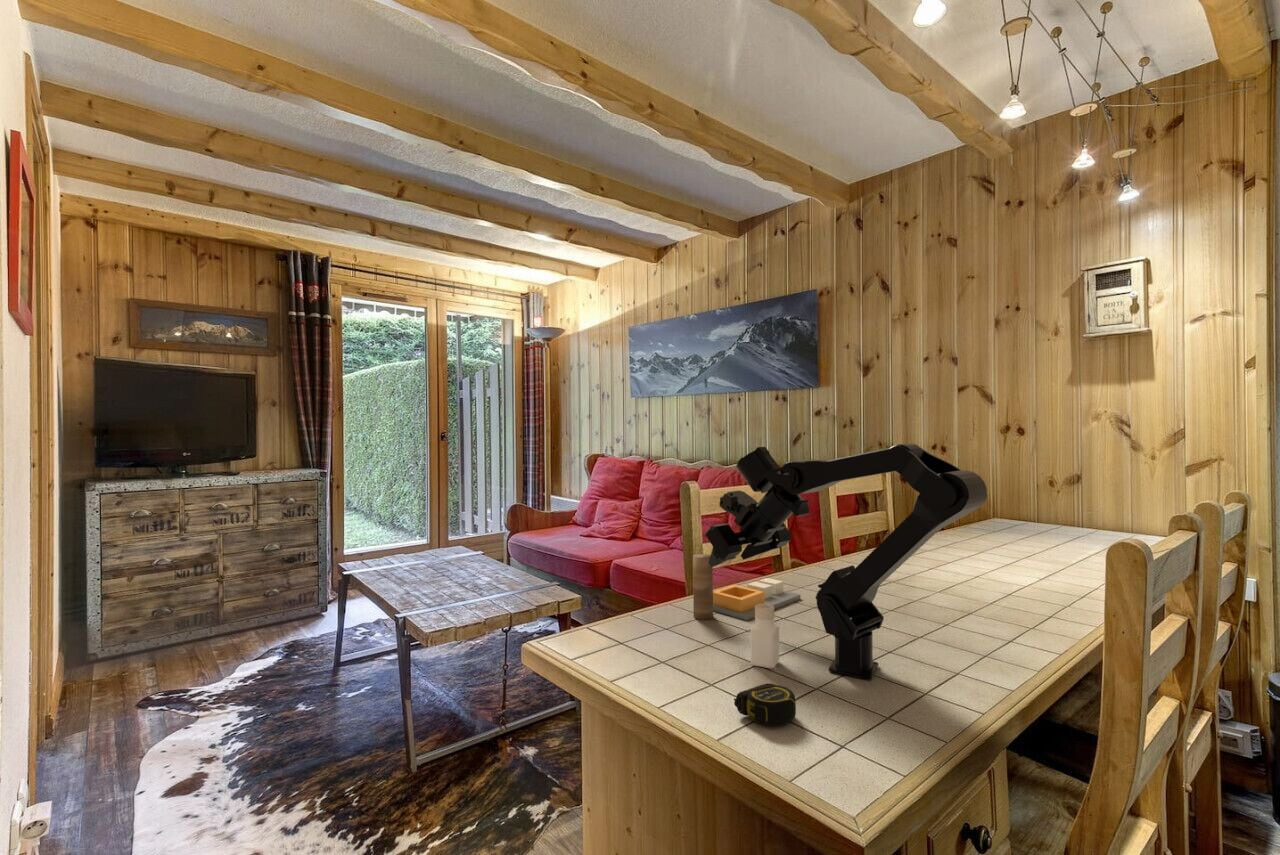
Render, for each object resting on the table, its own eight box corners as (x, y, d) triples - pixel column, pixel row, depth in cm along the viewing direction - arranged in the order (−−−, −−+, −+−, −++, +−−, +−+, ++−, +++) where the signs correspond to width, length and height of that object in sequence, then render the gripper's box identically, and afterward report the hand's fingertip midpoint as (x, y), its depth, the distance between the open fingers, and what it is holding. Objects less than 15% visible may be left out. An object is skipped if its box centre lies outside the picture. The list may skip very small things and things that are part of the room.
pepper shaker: (756, 657, 101) (756, 601, 100) (780, 661, 99) (779, 604, 99) (749, 666, 97) (749, 608, 97) (774, 670, 95) (773, 611, 95)
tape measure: (770, 702, 85) (770, 676, 85) (807, 723, 79) (806, 695, 79) (733, 715, 81) (733, 688, 81) (769, 738, 75) (768, 708, 75)
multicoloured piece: (746, 620, 119) (746, 603, 119) (701, 607, 128) (700, 591, 128) (800, 598, 133) (800, 583, 133) (755, 588, 141) (755, 573, 141)
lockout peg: (708, 621, 119) (707, 559, 119) (690, 618, 121) (689, 556, 121) (716, 615, 122) (715, 555, 122) (698, 612, 124) (698, 553, 124)
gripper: (778, 474, 118) (736, 522, 126) (712, 481, 106) (671, 534, 115) (812, 519, 112) (766, 566, 120) (746, 532, 100) (700, 583, 109)
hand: (726, 561), depth 116 cm, fingers open, 9 cm apart
